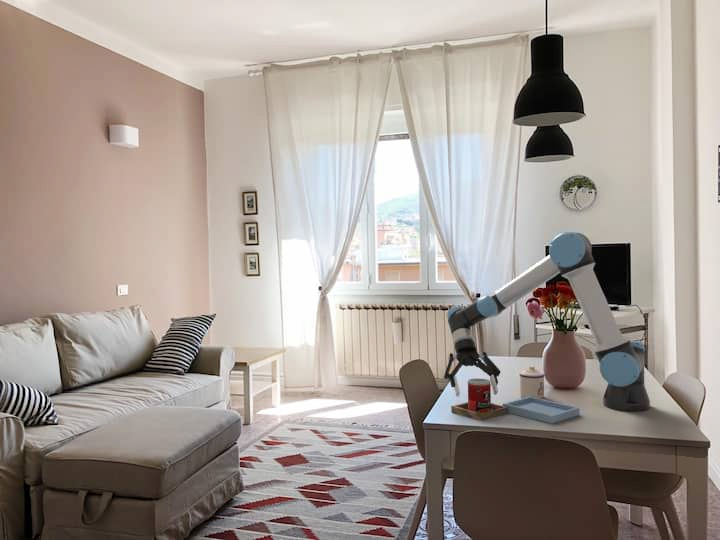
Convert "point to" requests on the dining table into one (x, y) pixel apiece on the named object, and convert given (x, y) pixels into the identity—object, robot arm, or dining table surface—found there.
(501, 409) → the frame
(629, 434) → the dining table surface
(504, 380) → the dining table surface
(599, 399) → the dining table surface
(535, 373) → the teacup with lid
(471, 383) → the canned food
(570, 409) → the slate-blue tray
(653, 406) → the dining table surface
